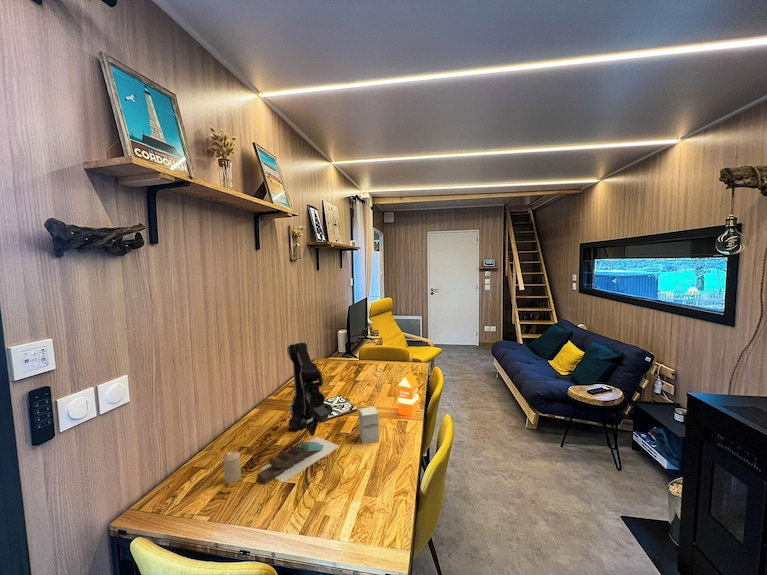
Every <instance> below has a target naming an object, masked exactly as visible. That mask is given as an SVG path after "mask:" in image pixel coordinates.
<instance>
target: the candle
mask: <svg viewBox="0 0 767 575" xmlns="http://www.w3.org/2000/svg"><path fill="white" fill-rule="evenodd" d="M222 462H223V463H222V465H223V477H224V478H223V479H224V483H226V484H229V485H230V484H234V483H237V482H238V481H240V480H241V478H242V466H241V465H242V463H241V453H240V452H239V451H237V450H236V449H235V450H232V451H230V452H227V453H226V454H225V455H224V456H223V457H222Z"/></svg>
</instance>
